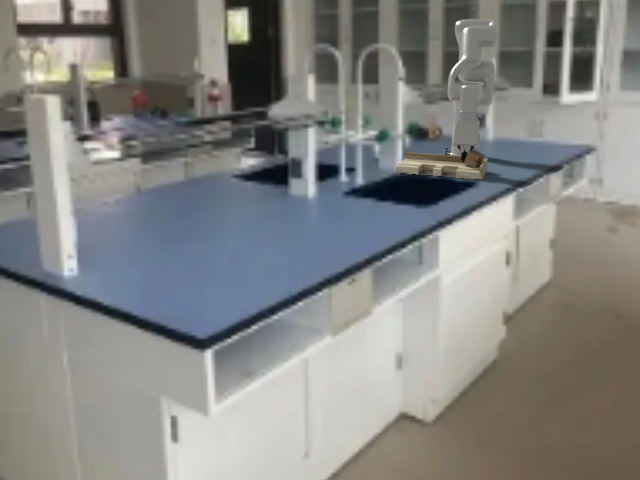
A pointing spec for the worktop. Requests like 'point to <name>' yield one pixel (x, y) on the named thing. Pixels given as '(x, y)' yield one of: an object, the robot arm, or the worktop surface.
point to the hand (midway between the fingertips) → (464, 161)
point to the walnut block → (474, 158)
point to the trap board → (440, 166)
